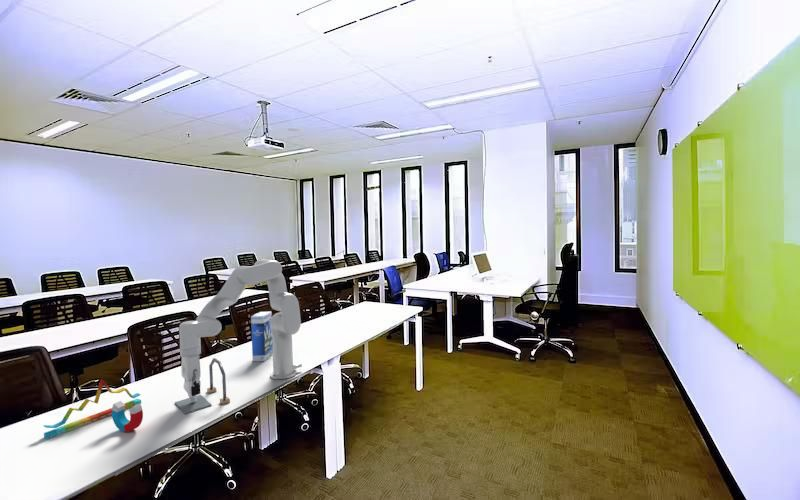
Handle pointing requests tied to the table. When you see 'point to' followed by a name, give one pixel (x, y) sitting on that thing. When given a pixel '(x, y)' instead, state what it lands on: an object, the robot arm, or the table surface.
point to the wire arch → (213, 389)
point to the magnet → (122, 421)
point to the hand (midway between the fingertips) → (192, 391)
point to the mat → (192, 404)
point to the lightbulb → (188, 389)
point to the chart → (91, 418)
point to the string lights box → (261, 336)
